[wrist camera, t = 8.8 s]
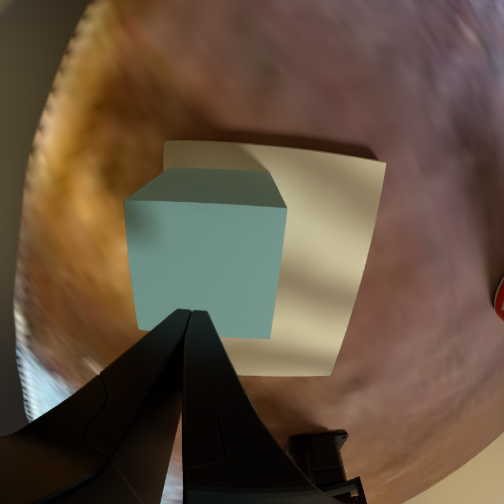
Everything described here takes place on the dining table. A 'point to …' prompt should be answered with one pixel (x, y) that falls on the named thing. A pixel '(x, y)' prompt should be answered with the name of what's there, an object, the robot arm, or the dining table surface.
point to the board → (302, 248)
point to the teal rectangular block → (207, 248)
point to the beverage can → (500, 300)
